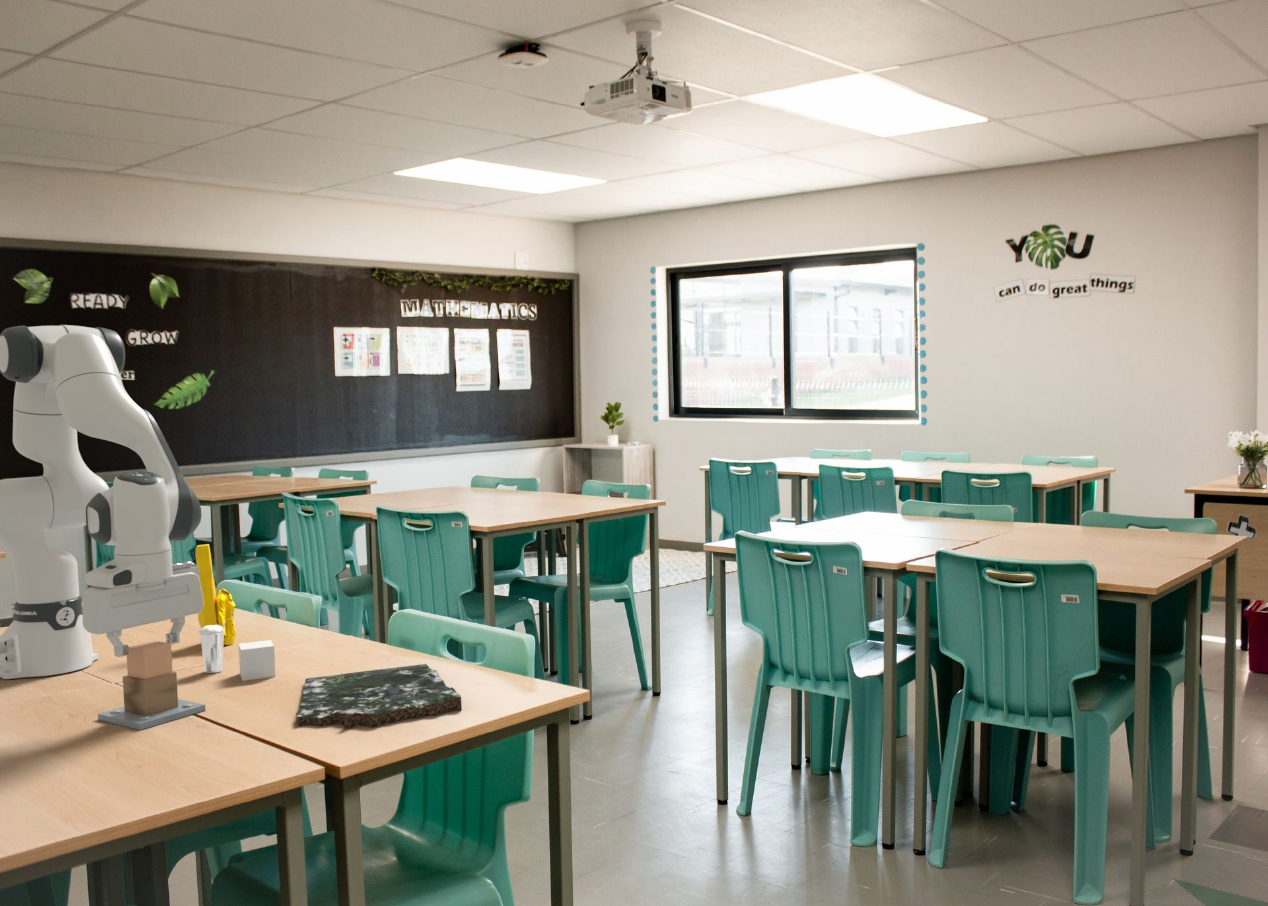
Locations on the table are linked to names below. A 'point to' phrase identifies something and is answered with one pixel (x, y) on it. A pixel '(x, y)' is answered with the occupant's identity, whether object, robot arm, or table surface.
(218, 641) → the milkshake
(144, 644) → the block
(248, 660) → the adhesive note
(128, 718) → the plate
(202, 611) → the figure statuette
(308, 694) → the topographical map
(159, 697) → the block
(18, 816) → the table surface
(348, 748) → the table surface
